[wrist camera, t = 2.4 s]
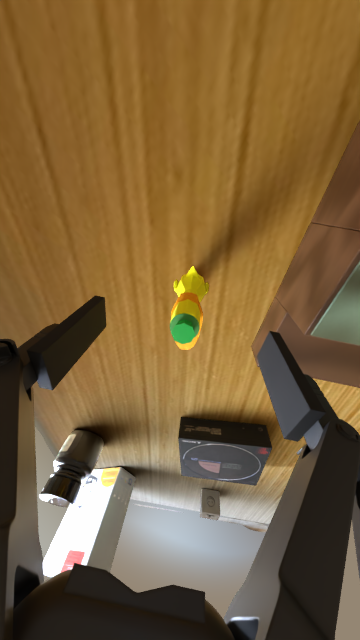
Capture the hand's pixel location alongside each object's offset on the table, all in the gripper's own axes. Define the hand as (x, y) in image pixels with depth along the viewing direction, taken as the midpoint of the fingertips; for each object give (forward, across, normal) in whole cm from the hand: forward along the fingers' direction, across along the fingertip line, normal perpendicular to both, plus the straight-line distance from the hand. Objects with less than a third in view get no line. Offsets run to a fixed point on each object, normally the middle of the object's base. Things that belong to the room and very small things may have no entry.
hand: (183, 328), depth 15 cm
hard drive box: (+10, -13, -66) cm, 68 cm away
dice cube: (+10, +18, -64) cm, 67 cm away
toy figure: (+10, 0, 0) cm, 10 cm away
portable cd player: (+10, +13, -35) cm, 38 cm away
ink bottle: (+10, -18, -46) cm, 50 cm away
